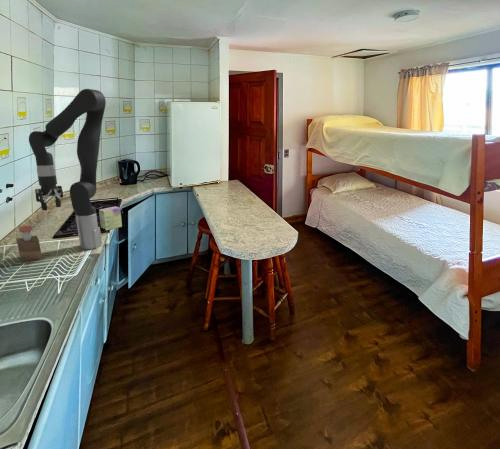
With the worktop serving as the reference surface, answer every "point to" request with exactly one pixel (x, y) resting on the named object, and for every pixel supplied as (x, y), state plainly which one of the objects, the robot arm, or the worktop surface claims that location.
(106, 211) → the box
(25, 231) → the red mushroom
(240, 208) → the worktop surface
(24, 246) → the housing
